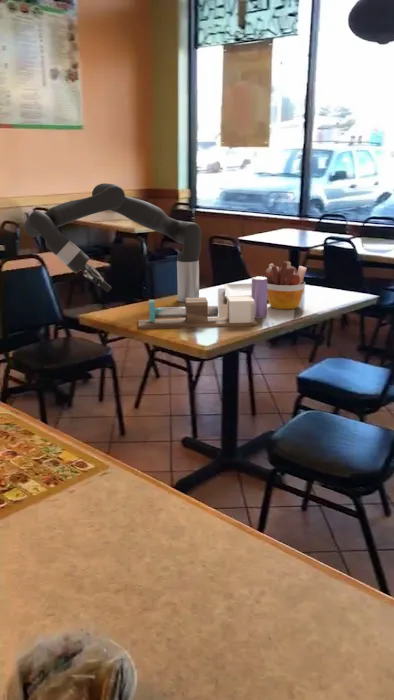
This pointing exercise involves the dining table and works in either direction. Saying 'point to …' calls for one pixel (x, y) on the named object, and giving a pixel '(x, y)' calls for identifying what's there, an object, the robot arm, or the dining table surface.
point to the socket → (240, 309)
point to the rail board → (191, 318)
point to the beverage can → (260, 296)
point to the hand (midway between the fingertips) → (109, 290)
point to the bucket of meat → (285, 286)
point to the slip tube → (174, 311)
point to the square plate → (239, 290)
